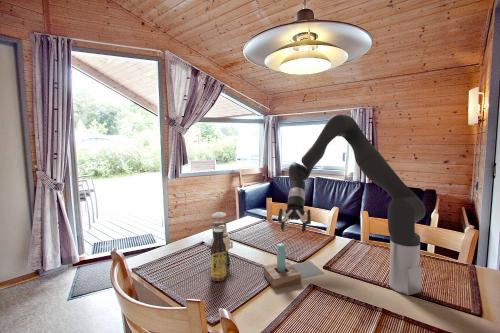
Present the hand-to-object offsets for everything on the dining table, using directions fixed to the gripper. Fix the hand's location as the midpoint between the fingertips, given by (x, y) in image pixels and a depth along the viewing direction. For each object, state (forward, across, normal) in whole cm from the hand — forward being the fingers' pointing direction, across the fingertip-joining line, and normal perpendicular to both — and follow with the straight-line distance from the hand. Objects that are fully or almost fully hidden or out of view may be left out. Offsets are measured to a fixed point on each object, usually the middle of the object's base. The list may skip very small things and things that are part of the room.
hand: (292, 231), depth 116 cm
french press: (-5, -46, +26) cm, 52 cm away
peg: (+20, -3, +2) cm, 20 cm away
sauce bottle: (+24, -27, -2) cm, 36 cm away
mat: (+13, +5, +9) cm, 16 cm away
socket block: (+20, -3, +2) cm, 20 cm away
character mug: (+15, -31, +6) cm, 35 cm away
